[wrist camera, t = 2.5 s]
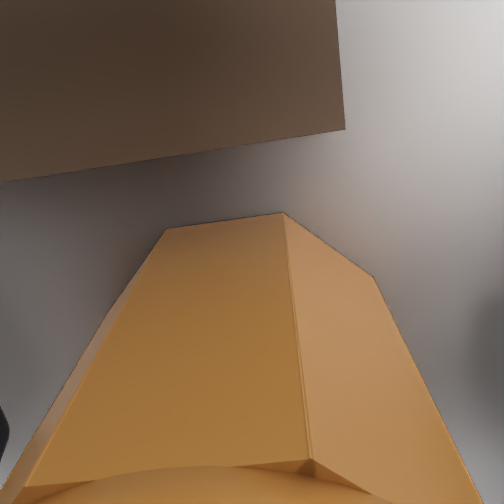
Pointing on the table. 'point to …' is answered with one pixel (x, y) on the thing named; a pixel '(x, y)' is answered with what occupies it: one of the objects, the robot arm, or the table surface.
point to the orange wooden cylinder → (244, 386)
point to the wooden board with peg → (160, 79)
